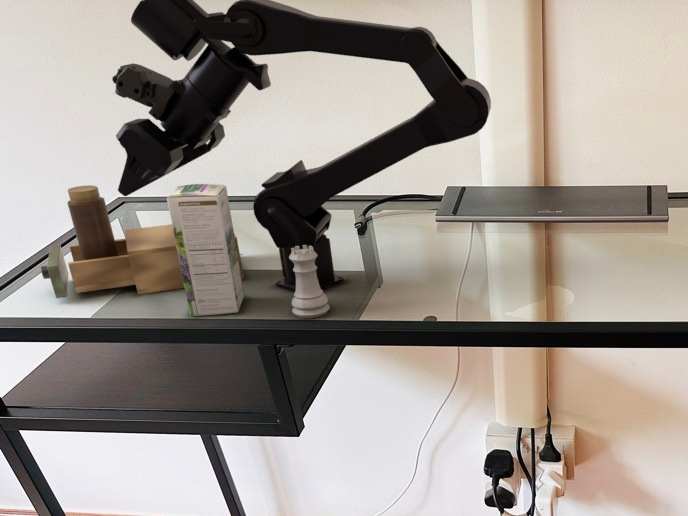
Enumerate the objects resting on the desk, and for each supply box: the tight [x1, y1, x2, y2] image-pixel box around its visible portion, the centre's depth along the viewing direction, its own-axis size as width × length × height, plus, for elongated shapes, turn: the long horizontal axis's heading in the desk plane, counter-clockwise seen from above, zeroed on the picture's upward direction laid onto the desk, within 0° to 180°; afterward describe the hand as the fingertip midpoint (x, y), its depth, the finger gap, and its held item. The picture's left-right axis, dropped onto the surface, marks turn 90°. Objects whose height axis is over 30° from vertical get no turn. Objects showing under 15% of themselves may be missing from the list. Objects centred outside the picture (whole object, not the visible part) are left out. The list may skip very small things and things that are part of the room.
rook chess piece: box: [289, 245, 331, 319], centre depth 98 cm, size 4×4×8 cm
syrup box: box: [166, 183, 245, 317], centre depth 99 cm, size 6×6×14 cm
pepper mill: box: [67, 185, 119, 260], centre depth 106 cm, size 4×4×11 cm
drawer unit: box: [124, 223, 245, 295], centre depth 112 cm, size 13×11×6 cm
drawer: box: [40, 238, 136, 299], centre depth 108 cm, size 14×10×4 cm
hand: (138, 184), depth 103 cm, fingers open, 9 cm apart
